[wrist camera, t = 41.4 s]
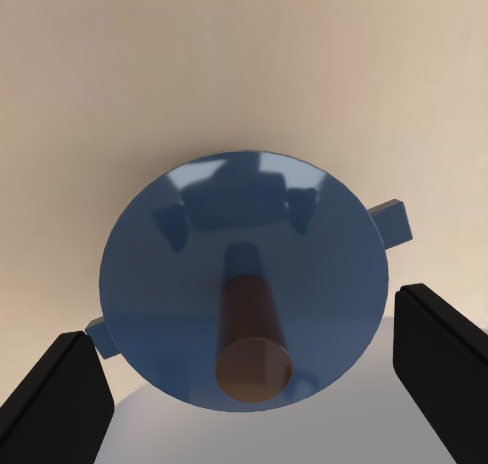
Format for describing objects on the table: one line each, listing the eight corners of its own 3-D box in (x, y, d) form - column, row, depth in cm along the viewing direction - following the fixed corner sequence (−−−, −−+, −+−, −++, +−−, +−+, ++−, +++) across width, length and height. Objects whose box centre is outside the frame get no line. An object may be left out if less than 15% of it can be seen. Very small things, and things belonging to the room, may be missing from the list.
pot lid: (51, 220, 16) (-63, 273, 10) (332, 98, 15) (406, 69, 9) (182, 428, 21) (161, 556, 15) (407, 346, 20) (491, 445, 13)
